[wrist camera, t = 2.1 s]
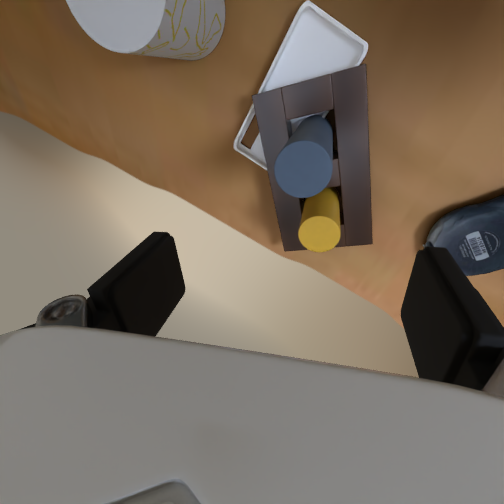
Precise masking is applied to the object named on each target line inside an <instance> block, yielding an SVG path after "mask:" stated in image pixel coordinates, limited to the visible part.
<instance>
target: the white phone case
mask: <svg viewBox="0 0 504 504" xmlns="http://www.w3.org/2000/svg"><path fill="white" fill-rule="evenodd" d="M367 50H368V43H367V42H366V41H364V40H363V39H361V38H360V37H359V36H357V35H356V34H355V33H353V32H352V31H350V30H349V29H348V28H346V27H345V26H344V25H342V24H341V23H339V22H338V21H337V20H335V19H334V18H333V17H331V16H330V15H328V14H327V13H326V12H324V11H323V10H322V9H320V8H319V7H317V6H316V5H315V4H313V3H312V2H311V1H306V2H304V3H303V4H302V5H301V7H300V8H299V10H298V12H297V14H296V16H295V18H294V20H293V22H292V24H291V26H290V28H289V30H288V32H287V34H286V36H285V38H284V40H283V42H282V45H281V47H280V49H279V51H278V53H277V55H276V57H275V59H274V61H273V63H272V65H271V67H270V69H269V71H268V73H267V75H266V77H265V79H264V81H263V83H262V85H261V88H260V90H259V92H258V94H259V93H262V92H266V91H269V90H273V89H277V88H280V87H284V86H287V85H291V84H294V83H298V82H302V81H305V80H309V79H312V78H316V77H319V76H323V75H327V74H331V73H334V72H337V71H341V70H344V69H348V68H352V67H355V66H359V65H360V63H361V62H362V60H363V59H364V57H365V55H366V53H367ZM329 111H330V110H328V111H324V112H320V113H316V114H311V115H321V116H322V118H325V117H326V115H327V114H328V112H329ZM254 115H255V109H254V104H252V106H251V108H250V110H249V112H248V114H247V116H246V118H245V120H244V122H243V124H242V126H241V129H240V131H239V133H238V135H237V137H236V139H235V141H234V149H235V150H236V151H238V152H239V153H241V154H242V155H244V156H245V157H247V158H248V159H250V160H251V161H253V162H254V163H256V164H258V165H259V166H261V167H262V168H264V169H265V170H267V166H266V161H265V156H264V152H263V147H262V142H261V138H260V133H259V134H258V136H257V138H256V140H255V142H254V143H253V145H252V147H251V149H249V148H247V147H246V146H244V145H243V144H241V140H242V138H243V136H244V135H245V133H246V131H247V129H248V127H249V125H250V123H251V121H252V119H253V117H254ZM311 115H307V116H303V117H299V118H295V119H290V120H291V126H292V133H294V131H295V130H296V129H297V127H298V126H299V124H300V123H301V122H302V121H303V120H304V119H305V118H306V117H308V116H311Z"/></svg>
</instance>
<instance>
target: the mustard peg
mask: <svg viewBox="0 0 504 504" xmlns="http://www.w3.org/2000/svg"><path fill="white" fill-rule="evenodd" d="M340 235H341V232H340V210H339V194H338V191H337V189H336V188H335V187H329V188H324V189H323V190H322V191H321V192H320V193H318V194H316V195H314V196H312V197H308V198H306V200H305V204H304V209H303V213H302V218H301V222H300V227H299V231H298V237H299V240H300V242H301V243H302V245H303V246H304V247H305V248H307V249H308V250H311V251H314V252H325V251H328V250H331V249H332V248H334V247H335V246H336V245H337V243H338V242H339V240H340Z"/></svg>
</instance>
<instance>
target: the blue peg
mask: <svg viewBox="0 0 504 504" xmlns="http://www.w3.org/2000/svg"><path fill="white" fill-rule="evenodd" d="M332 169H333V129H332V125H331V123H330V121H329V120H328V119H327V118H326V117H325V118H322V116H321V115H311V116H308V117H306V118H305V119H304V120H303V121H302V122H301V123H300V124H299V126H298V127H297V129H296V130H295V131H294V133H293V134H292V136H291V137H290V139H289V140H288V141H287V143H286V144H285V146H284V147H283V149H282V150H281V151H280V153H279V154H278V156H277V158H276V161H275V165H274V174H275V179H276V181H277V183H278V185H279V186H280V188H281V189H282V190H283V191H284V192H286V193H287V194H289V195H291V196H293V197H297V198H308V197H312V196H314V195H316V194H318V193H320V192H321V191H322V190H323V189H324V188H325V187H326V186H327V184H328V183H329V181H330V179H331V176H332Z"/></svg>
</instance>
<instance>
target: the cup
mask: <svg viewBox="0 0 504 504" xmlns="http://www.w3.org/2000/svg"><path fill="white" fill-rule="evenodd" d="M66 2H67V4H68V6H69V8H70V10H71V12H72V14H73V15H74V17H75V19H76V20H77V22H78V23H79V25H80V26H81V27H82V28H83V30H84V31H85V32H86V33H87V34H88V35H89V36H90V37H91V38H92V39H93V40H94V41H96V42H97V43H98V44H100V45H101V46H103V47H104V48H107V49H109V50H111V51H114V52H119V53H128V54H137V55H146V56H155V57H164V58H173V59H182V60H199V59H202V58H204V57H205V56H207V55H208V54H210V53H211V52H212V51H213V50H214V48H215V47H216V46H217V44H218V42H219V40H220V38H221V36H222V33H223V29H224V24H225V2H224V0H66Z"/></svg>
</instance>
